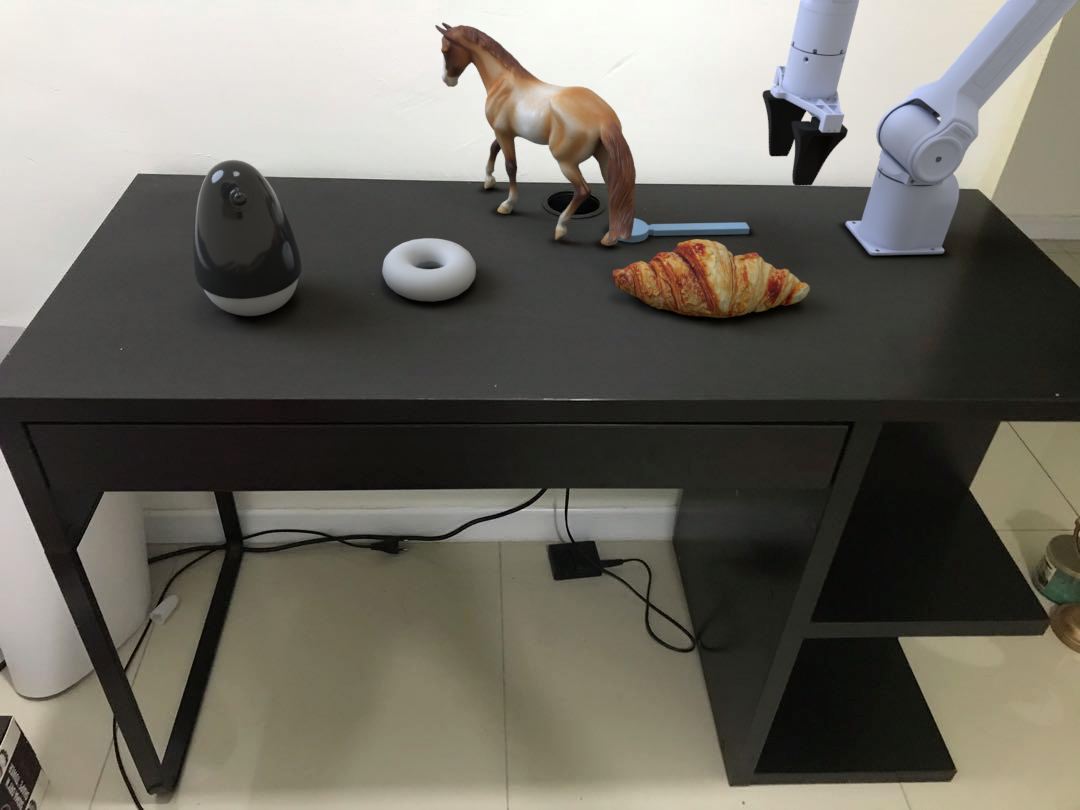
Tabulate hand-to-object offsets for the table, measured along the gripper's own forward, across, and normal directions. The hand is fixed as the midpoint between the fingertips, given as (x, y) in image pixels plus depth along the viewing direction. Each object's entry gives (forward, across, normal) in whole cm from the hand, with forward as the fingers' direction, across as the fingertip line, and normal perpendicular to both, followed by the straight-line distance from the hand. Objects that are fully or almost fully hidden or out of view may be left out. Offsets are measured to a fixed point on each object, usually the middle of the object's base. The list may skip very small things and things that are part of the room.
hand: (789, 169), depth 103 cm
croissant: (+10, +12, -12) cm, 20 cm away
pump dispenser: (+9, +9, -59) cm, 61 cm away
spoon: (+9, -3, -11) cm, 15 cm away
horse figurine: (+10, -4, -29) cm, 31 cm away
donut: (+10, +7, -41) cm, 43 cm away
